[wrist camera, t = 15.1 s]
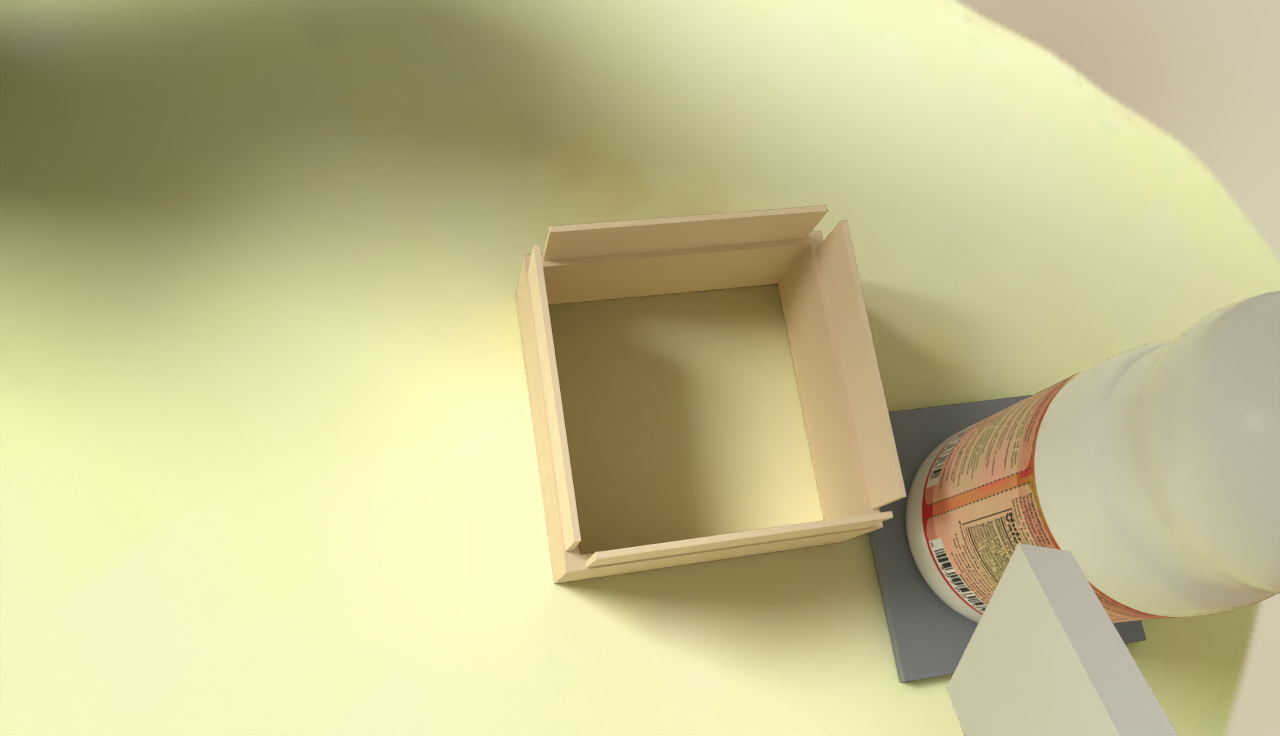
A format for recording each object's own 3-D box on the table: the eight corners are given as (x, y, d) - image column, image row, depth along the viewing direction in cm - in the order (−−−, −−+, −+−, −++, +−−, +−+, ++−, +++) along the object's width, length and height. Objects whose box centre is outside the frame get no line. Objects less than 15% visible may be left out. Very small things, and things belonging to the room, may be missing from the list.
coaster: (845, 419, 51) (850, 416, 51) (1073, 392, 54) (1079, 389, 53) (899, 681, 48) (905, 681, 48) (1138, 640, 51) (1146, 640, 50)
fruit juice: (905, 413, 51) (1397, 123, 25) (1090, 447, 53) (1750, 204, 26) (892, 616, 49) (1432, 533, 22) (1088, 647, 50) (1824, 603, 23)
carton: (515, 295, 50) (528, 226, 43) (787, 271, 53) (844, 202, 45) (554, 583, 47) (575, 564, 39) (841, 542, 50) (912, 516, 42)
